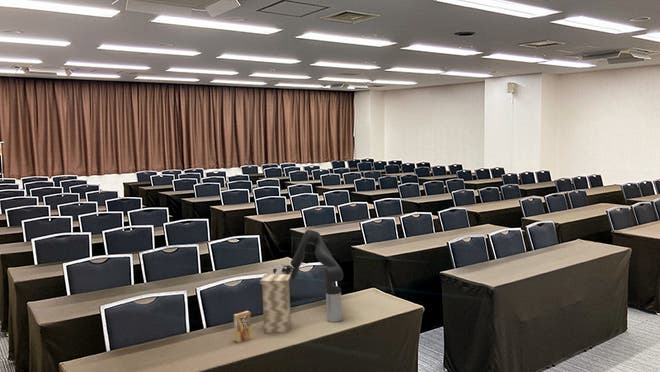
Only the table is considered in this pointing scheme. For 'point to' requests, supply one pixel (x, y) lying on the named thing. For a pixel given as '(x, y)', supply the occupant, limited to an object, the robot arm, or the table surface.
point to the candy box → (242, 326)
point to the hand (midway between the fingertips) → (279, 270)
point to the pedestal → (276, 303)
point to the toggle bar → (279, 269)
